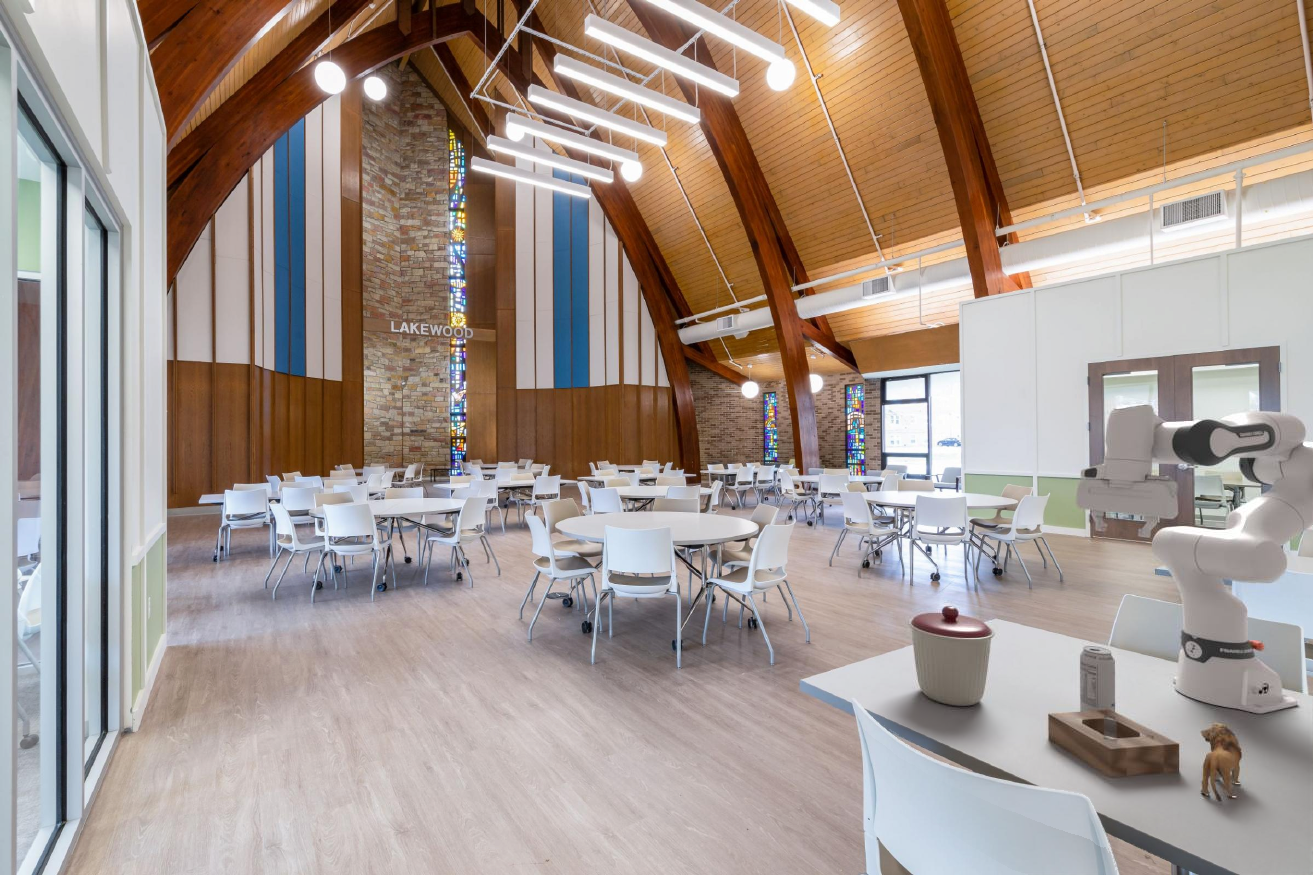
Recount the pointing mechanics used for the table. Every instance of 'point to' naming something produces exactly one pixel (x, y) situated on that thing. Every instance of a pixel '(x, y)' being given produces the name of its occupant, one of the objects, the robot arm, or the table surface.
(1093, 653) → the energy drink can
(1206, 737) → the lion figurine
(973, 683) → the canister
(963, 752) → the table surface
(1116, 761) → the block
